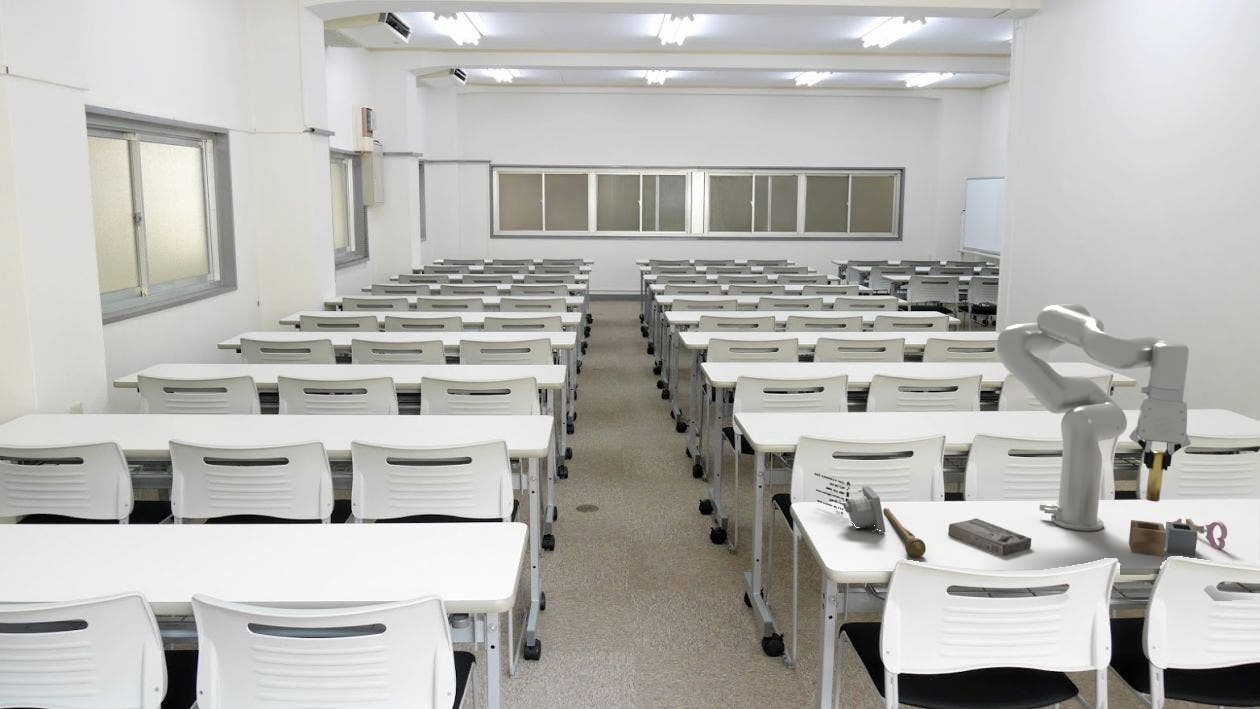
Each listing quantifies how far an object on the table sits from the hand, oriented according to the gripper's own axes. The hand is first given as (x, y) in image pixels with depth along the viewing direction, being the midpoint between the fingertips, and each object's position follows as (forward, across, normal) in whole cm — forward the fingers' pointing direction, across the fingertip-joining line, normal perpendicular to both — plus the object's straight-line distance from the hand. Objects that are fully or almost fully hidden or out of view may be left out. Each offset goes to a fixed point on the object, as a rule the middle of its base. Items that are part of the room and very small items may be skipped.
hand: (1156, 467), depth 237 cm
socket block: (+21, +7, +1) cm, 22 cm away
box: (+22, -36, -9) cm, 43 cm away
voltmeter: (+22, -72, -5) cm, 75 cm away
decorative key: (+21, +13, +14) cm, 28 cm away
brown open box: (+21, 0, -1) cm, 21 cm away
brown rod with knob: (+22, -57, -12) cm, 63 cm away
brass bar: (+8, 0, 0) cm, 8 cm away
